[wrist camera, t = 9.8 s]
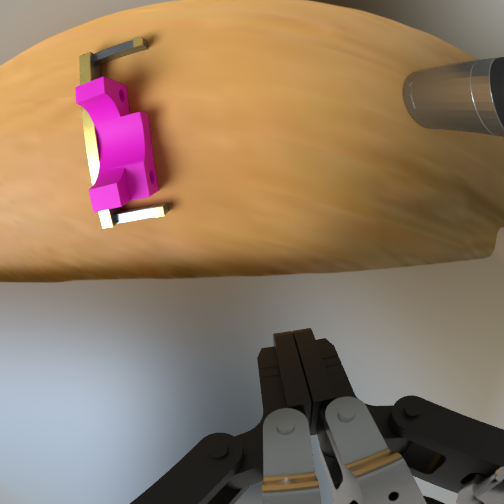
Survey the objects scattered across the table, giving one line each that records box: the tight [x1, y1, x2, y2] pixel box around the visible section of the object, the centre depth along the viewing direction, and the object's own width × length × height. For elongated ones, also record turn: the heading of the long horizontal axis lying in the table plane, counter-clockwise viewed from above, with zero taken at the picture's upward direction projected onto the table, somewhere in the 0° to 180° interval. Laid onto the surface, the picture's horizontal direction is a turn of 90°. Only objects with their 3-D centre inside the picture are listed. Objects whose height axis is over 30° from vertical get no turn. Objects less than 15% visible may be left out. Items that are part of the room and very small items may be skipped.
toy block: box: [76, 76, 159, 212], centre depth 28 cm, size 15×6×8 cm, turn 6°
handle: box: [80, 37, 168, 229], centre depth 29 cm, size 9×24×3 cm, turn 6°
